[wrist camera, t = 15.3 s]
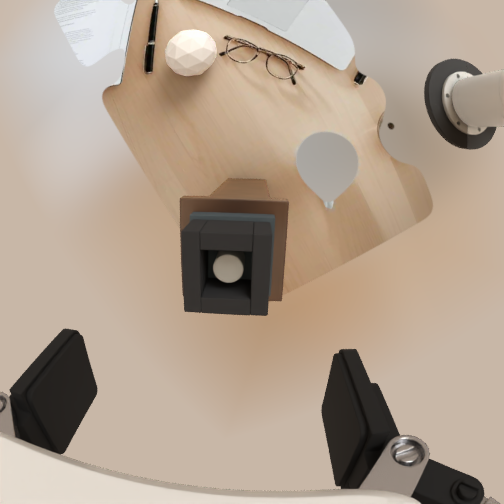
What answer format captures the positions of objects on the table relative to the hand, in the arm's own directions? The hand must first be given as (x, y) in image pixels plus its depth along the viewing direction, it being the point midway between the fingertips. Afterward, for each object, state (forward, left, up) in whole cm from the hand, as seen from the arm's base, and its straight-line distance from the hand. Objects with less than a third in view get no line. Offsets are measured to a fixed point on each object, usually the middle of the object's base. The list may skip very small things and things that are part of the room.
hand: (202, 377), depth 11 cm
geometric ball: (+9, -23, -42) cm, 49 cm away
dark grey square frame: (0, 0, -13) cm, 13 cm away
